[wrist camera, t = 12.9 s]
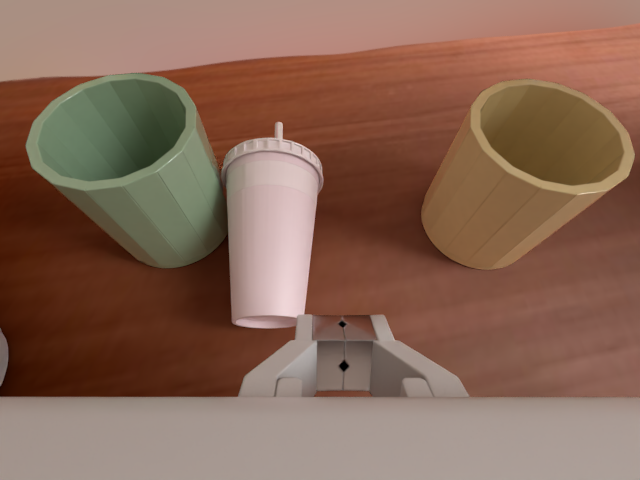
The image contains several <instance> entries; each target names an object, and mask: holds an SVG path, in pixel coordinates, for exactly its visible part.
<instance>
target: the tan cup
mask: <svg viewBox="0 0 640 480" xmlns="http://www.w3.org/2000/svg"><path fill="white" fill-rule="evenodd" d="M634 158H635V153H634V150H633V146H632V143H631V140H630V136H629V133H628V132H627V130H626V129H625V128H624V127H623V126H622V124H621V123H620V122H619V121H618V120H617V118H616V117H615V116H614V115H613V114H612V112H610V111H609V110H608V109H606V108H605V107H604V106H602V105H601V104H599V103H598V102H596V101H595V100H593V99H592V98H590V97H589V96H587V95H585V94H584V93H581V92H579V91H576V90H574V89H571V88H569V87H566V86H564V85H561V84H558V83H554V82H547V81H541V80H534V79H519V80H509V81H503V82H500V83H497V84H495V85H493V86H491V87H489V88H487V89H485V90H483V91H482V92H481V93H480V94H479V96H478V97H477V99H476V100H475V101H474V103H473V104H472V105H471V107H470V109H469V111H468V113H467V115H466V117H465V119H464V121H463V123H462V125H461V127H460V129H459V131H458V132H457V134H456V136H455V138H454V140H453V142H452V144H451V146H450V148H449V150H448V152H447V154H446V156H445V158H444V160H443V162H442V164H441V166H440V168H439V170H438V172H437V174H436V176H435V178H434V180H433V181H432V183H431V185H430V187H429V189H428V191H427V193H426V195H425V198H424V201H423V204H422V209H421V218H422V223H423V227H424V229H425V232H426V234H427V236H428V237H429V239H430V240H431V242H432V243H433V244H434V245H435V246H436V247H437V248H438V249H439V251H441V252H442V253H443V254H444V255H446V256H447V257H449V258H450V259H452V260H453V261H455V262H457V263H459V264H462V265H465V266H467V267H471V268H475V269H483V270H492V269H499V268H504V267H506V266H509V265H511V264H513V263H514V262H516V261H517V260H519V259H520V258H521V257H523V256H524V255H526V254H527V253H528V252H530V251H531V250H532V249H534V248H535V247H536V246H538V245H539V244H540V243H542V242H543V241H544V240H546V239H547V238H548V237H550V236H551V235H552V234H553V233H555V232H556V231H557V230H559V229H560V228H561V227H563V226H564V225H565V224H567V223H568V222H569V221H571V220H572V219H573V218H575V217H576V216H577V215H579V214H580V213H581V212H583V211H584V210H585V209H587V208H588V207H589V206H590V205H592V204H593V203H594V202H596V201H597V200H598V199H600V198H601V197H602V196H604V195H605V194H606V193H608V192H609V191H610V190H612V189H613V188H614V187H616V186H617V185H618V184H620V183H621V182H622V181H623V180H625V179H626V178H627V177H628V176H629V173H630V170H631V167H632V164H633V161H634Z"/></svg>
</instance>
